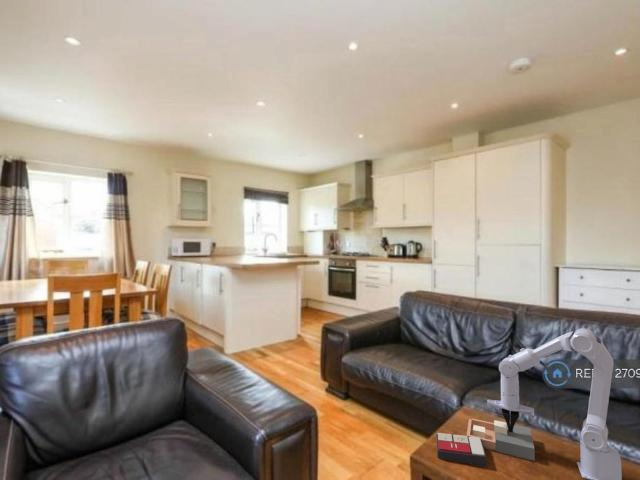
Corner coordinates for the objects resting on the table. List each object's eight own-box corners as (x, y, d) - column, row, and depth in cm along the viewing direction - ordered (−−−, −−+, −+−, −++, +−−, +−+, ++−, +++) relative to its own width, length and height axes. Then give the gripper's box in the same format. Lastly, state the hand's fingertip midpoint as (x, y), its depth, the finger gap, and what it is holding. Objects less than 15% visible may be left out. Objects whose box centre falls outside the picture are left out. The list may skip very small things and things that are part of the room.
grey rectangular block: (530, 439, 121) (530, 428, 122) (534, 461, 109) (534, 448, 109) (495, 431, 127) (495, 420, 127) (496, 451, 114) (495, 439, 114)
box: (495, 431, 127) (495, 423, 127) (495, 451, 114) (495, 442, 114) (469, 425, 131) (469, 417, 131) (466, 444, 119) (466, 435, 119)
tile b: (473, 424, 126) (473, 431, 126) (472, 429, 122) (473, 436, 122) (485, 427, 124) (485, 434, 124) (485, 432, 120) (485, 439, 120)
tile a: (506, 429, 121) (506, 422, 121) (507, 435, 117) (506, 428, 117) (494, 426, 122) (494, 420, 123) (494, 432, 119) (494, 425, 119)
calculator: (436, 431, 121) (481, 436, 116) (437, 443, 121) (482, 448, 116) (437, 448, 111) (486, 454, 106) (437, 461, 110) (487, 468, 106)
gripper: (532, 392, 119) (533, 430, 119) (487, 384, 126) (487, 420, 125) (534, 400, 113) (535, 440, 112) (487, 391, 119) (487, 429, 119)
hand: (510, 430), depth 118 cm, fingers closed
